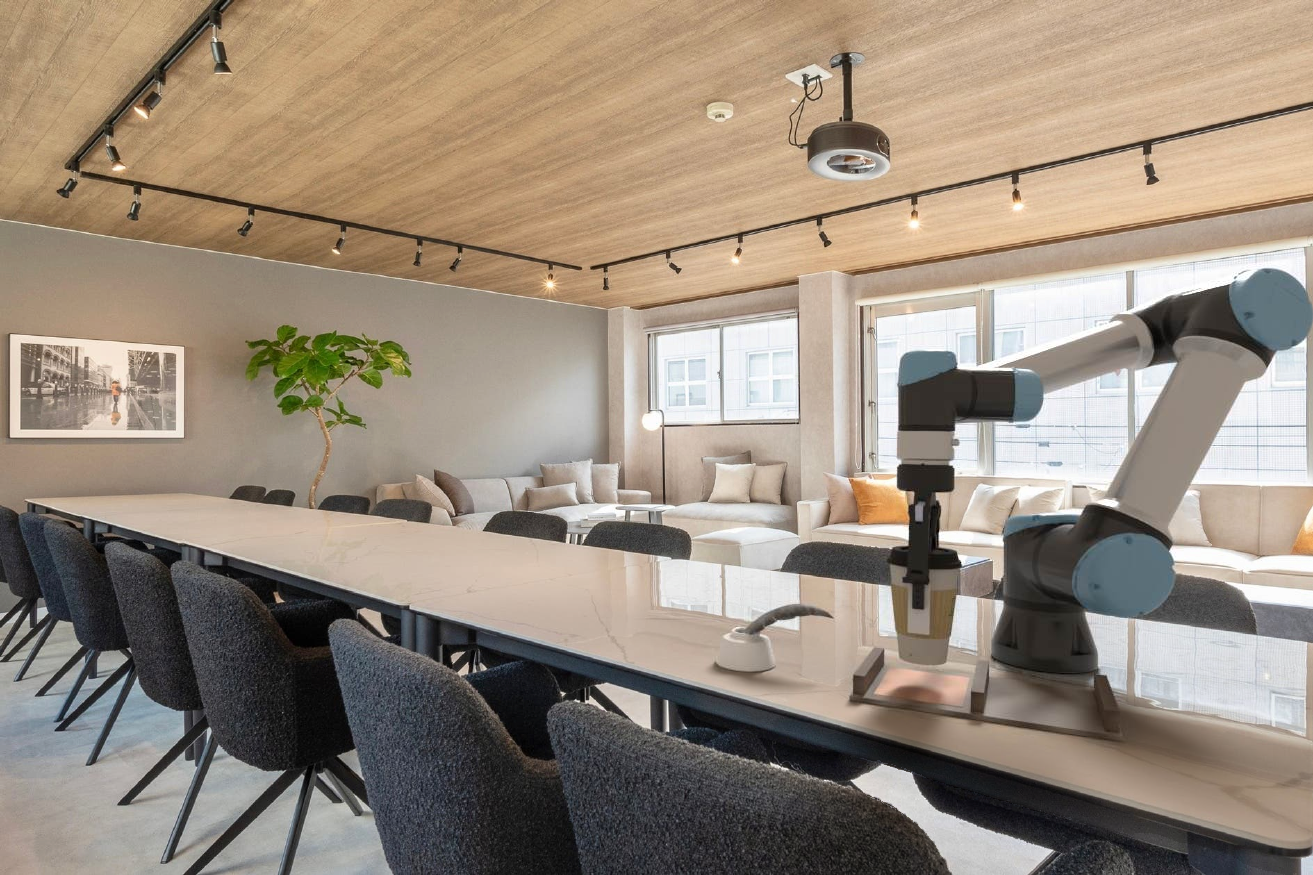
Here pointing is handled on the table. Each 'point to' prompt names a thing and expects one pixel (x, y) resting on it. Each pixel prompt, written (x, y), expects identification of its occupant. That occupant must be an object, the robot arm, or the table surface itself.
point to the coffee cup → (941, 605)
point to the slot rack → (990, 697)
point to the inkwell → (758, 640)
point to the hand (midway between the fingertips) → (923, 625)
